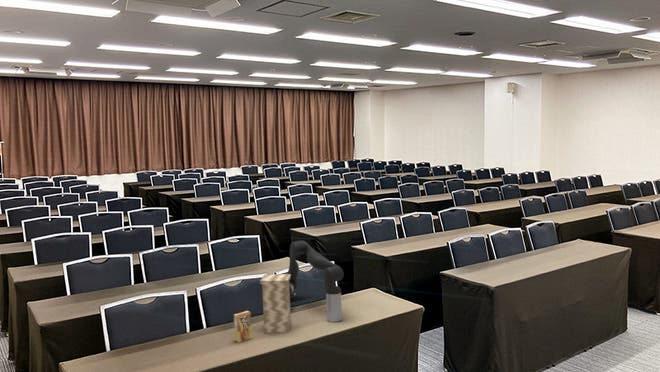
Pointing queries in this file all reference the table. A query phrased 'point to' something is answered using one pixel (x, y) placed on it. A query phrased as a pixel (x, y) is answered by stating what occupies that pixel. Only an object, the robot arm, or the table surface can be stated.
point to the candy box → (242, 326)
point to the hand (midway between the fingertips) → (283, 298)
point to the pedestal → (276, 303)
